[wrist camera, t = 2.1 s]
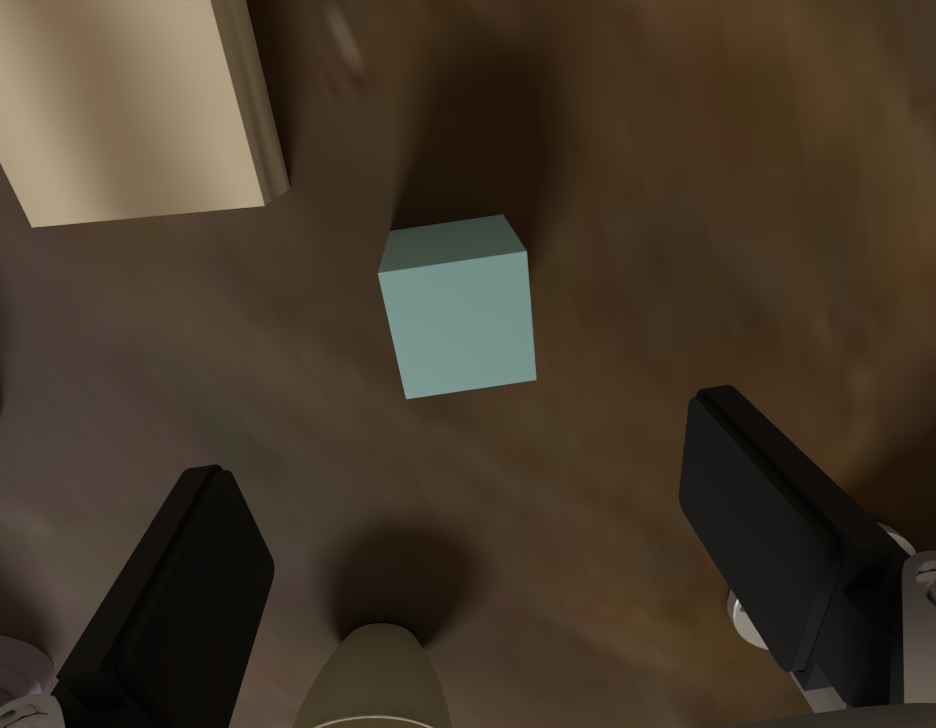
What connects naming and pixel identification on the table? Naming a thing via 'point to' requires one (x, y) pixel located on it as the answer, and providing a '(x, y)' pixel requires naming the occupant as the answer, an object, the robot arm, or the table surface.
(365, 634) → the flower pot
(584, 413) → the table surface
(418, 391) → the block
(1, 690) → the cat figurine
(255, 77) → the base
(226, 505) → the robot arm
